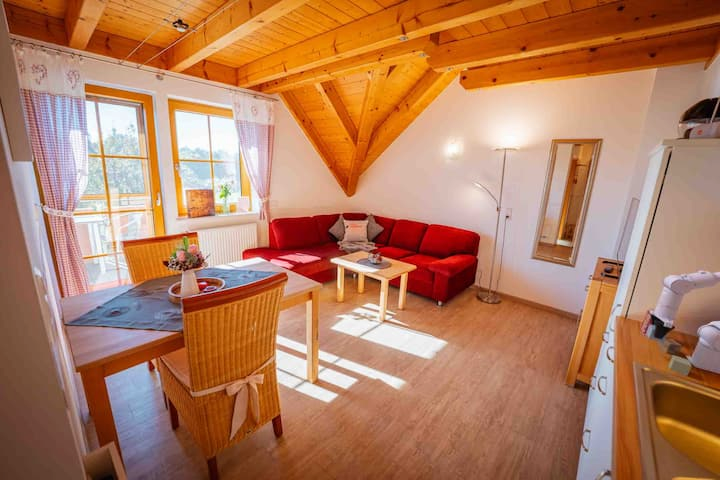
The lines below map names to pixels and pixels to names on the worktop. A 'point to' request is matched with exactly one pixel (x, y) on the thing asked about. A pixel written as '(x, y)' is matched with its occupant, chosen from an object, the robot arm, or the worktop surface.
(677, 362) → the olive block
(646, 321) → the soda can
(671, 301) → the robot arm
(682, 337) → the worktop surface
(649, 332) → the slate blue block
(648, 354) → the worktop surface
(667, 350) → the walnut block
